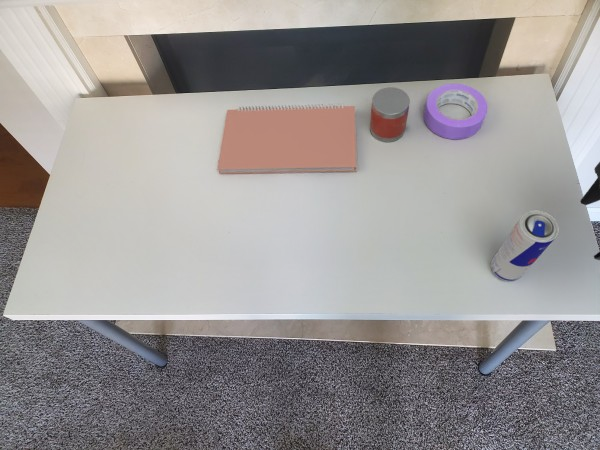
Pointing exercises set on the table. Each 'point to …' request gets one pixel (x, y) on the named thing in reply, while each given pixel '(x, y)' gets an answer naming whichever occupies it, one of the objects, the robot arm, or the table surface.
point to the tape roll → (451, 126)
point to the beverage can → (524, 245)
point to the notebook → (289, 140)
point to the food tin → (389, 114)
